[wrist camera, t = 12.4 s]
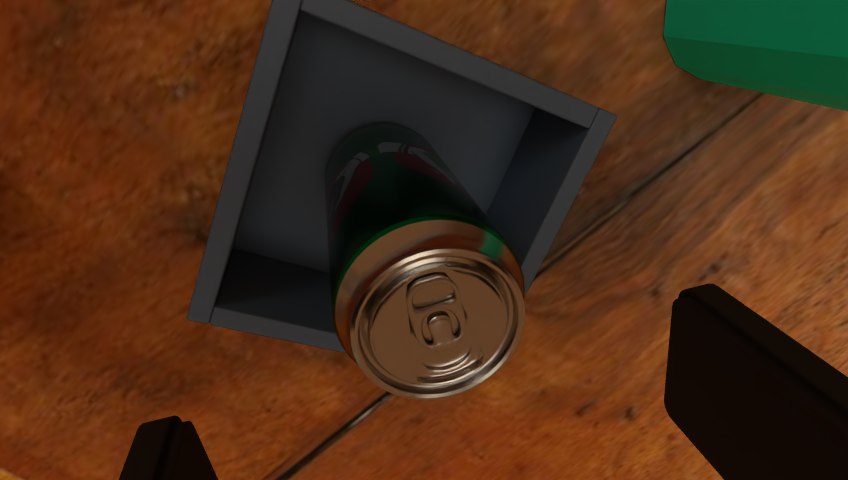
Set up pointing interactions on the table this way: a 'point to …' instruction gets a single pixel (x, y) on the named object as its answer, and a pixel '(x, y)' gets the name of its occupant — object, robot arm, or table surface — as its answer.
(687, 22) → the candle
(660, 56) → the table surface
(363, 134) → the soda can
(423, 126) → the bin
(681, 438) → the table surface
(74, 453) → the table surface
